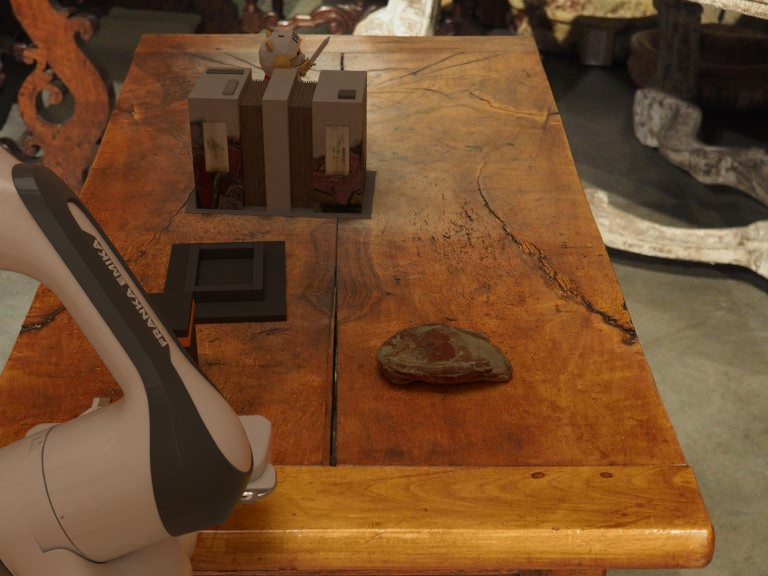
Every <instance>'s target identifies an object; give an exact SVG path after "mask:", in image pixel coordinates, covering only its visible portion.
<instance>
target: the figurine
mask: <svg viewBox="0 0 768 576" xmlns="http://www.w3.org/2000/svg"><path fill="white" fill-rule="evenodd" d="M265 36H266V38H265V39H264V40H263V41H262V43H261V44H260V46H259V49H258V61H259V65H260V68H261V71H263V73H264V76H263V80H264V81H265V80H266V81H267V80H268V82H269V80H270V79H271V76H272V74H273V71H274V69H275V68H282V69H298V80H299V82H300V81H301V83H302V81H304V79H302V78H304V77H306V76H307V75H308V74H307V73H308V72H309V70H311V68H313V67H316V66H317V63H316V61H317V59H318V58H319V56H320V55H321V53H322V52H323V51H324V49H325V48H326V47H327V46H328V44H329V41H330V39H331V36H330V35H329V36H327V37H326V38H324V39H323V40H322V42H321V43H320V44H319V46H318V47H317V48H316V50H315V51H314V52H313V54H312V55H311V57H309V56H307V57H306V54H305V53H303V50H302V49H301V44H302V40H303V39H302V38H301V37H300V36H299V35H298V33H297V32H295V30H294V29H277V30H274V31H270V30H267V29H266V33H265Z"/></svg>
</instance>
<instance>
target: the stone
mask: <svg viewBox="0 0 768 576" xmlns="http://www.w3.org/2000/svg"><path fill="white" fill-rule="evenodd" d="M375 362H376V364H377V368H378V370H379V372H381V373H382V374H383V376H384V377H385V378H386V379H388V380H389V381H390V383H391V384H395V385H401V386H402V385H404V384H409V383H412V382H414V381H415V382H418V381H422V382H426V383H428V384H433V385H434V384H435V385H446V386H447V385H451V386H453V385H458V384H464V383H473V382H475V383H476V382H478V381H489V382H495V383H497V382H498V383H501V382H508V381H510V379H511V377H512V375H513V370H514V369H513V365H512V363H511V361H510V359H509V357H508V356H507V354H506V353H505V354H504V353H503V352H502V351H501V349H500V348H498V347H497V346H496V345H494V344H492V343H491V340H490V338H489V337H487V336H486V334H484V333H483V332H480V331H477V330H472V329H469V328H466V327H463V326H462V327H461V326H455V325H450V324H448V323H446V322H440V321H437V322H428V323H427V322H426V323H421V324H416V325H413V326H410V327H405V328H404V329H401V330H400V331H398V332H397V333H395V334H393V335H392V336H390V337H389V338H387V339H386V340H385V341H384V342H382V343H381V345H380V347H379V348H378V349H377V351H376V353H375Z"/></svg>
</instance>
